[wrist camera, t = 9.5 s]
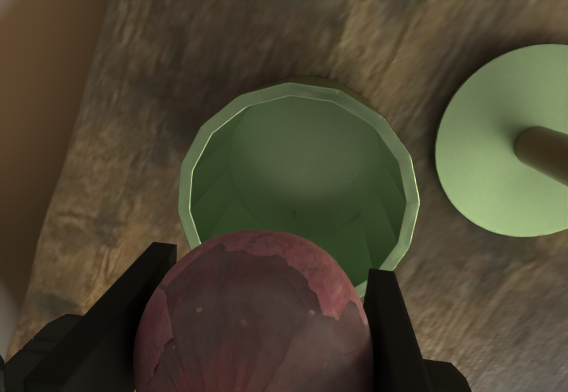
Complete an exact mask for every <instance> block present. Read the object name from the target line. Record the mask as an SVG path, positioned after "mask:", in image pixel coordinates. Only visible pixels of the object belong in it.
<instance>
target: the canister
mask: <svg viewBox="0 0 568 392" xmlns="http://www.w3.org/2000/svg"><path fill="white" fill-rule="evenodd" d="M419 205H420V200H419V195H418V189H417V184H416V179H415V174H414V169H413V164H412V159H411V156H410V154H409V152H408V151H407V150H406V148H405V147H404V145H403V144H402V142H401V141H400V140H399V138H398V137H397V135H396V134H395V133H394V131H393V130H392V128H391V127H390V125H389V124H388V123H387V121H386V120H385V118H384V117H383V116H382V115H381V114H380V113H379V112H378V111H377V110H376V109H375V108H374V107H373V106H372V105H371V104H370V103H369V102H368V101H367V100H366V99H365V98H364V97H362V96H360V95H359V94H357V93H355V92H354V91H352V90H351V89H349V88H347V87H345V86H344V85H342V84H341V83H339V82H337V81H336V80H331V79H324V78H318V77H310V76H302V75H300V76H299V75H298V76H294V77H291V78H287V79H283V80H279V81H276V82H272V83H268V84H265V85H263V86H260V87H258V88H256V89H253V90H251V91H248V92H246V93H243V94H241V95H239V96H238V97H236V98H235V99H234V100H233V101H231V102H230V103H229V104H228V105H226V106H225V107H224V108H223V109H221V110H220V111H219V112H218V113H216V114H215V115H214V116H213V117H211V118H210V119H209V120H208V121H206V122H205V123H204V124H203V125H202V126H201V127H200V129H199V131H198V133H197V135H196V137H195V139H194V141H193V143H192V145H191V147H190V149H189V151H188V152H187V154H186V156H185V158H184V160H183V162H182V164H181V167H180V180H179V195H178V209H177V210H178V214H179V217H180V220H181V223H182V226H183V229H184V232H185V235H186V238H187V240H188V243H189V246H190V249H191V250H193V249H194V248H195V247H197V246H198V245H200V244H202V243H203V242H205V241H207V240H209V239H211V238H214V237H217V236H219V235H222V234H226V233H231V232H237V231H243V230H267V231H282V232H288V233H292V234H295V235H298V236H301V237H303V238H305V239H307V240H309V241H311V242H313V243H314V244H316V245H317V246H319V247H320V248H322V249H323V250H324V251H326V252H327V253H328V254H329V255H330V256H331V257H332V258H333V259H334V260H335V261H336V262H337V263H338V265H339V266H340V267H341V268H342V270H343V271H344V272H345V274H346V275H347V276H348V278H349V280H350V281H351V283H352V285H353V287H354V289H355V291H356V293H357V294H358V296H359V298H360V297H362V296H363V295H365V292H366V285H367V279H368V273H369V268H372V269H380V270H388V271H393V269H394V268H395V267H396V265H397V264H398V262H399V261H400V260H401V258H402V257H403V256H404V254H405V253H406V252H407V250H408V249H409V247H410V244H411V240H412V235H413V231H414V227H415V222H416V218H417V214H418V209H419Z"/></svg>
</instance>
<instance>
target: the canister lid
mask: <svg viewBox="0 0 568 392" xmlns="http://www.w3.org/2000/svg"><path fill="white" fill-rule="evenodd" d="M434 162H435V169H436V173H437V177H438V180H439V182H440V185H441V187H442V189H443V191H444V193H445V194H446V196H447V198H448V199H449V201H450V202H451V203H452V204H453V206H454V207H455V208H456V209H457V210H458V211H459V212H460V213H461V214H462V215H463V216H464V217H466V218H467V219H468V220H470V221H471V222H473V223H474V224H476V225H478V226H480V227H482V228H484V229H486V230H489V231H492V232H494V233H498V234H502V235H507V236H516V237H534V236H541V235H547V234H551V233H555V232H559V231H562V230H564V229H567V228H568V45H566V44H536V45H530V46H525V47H520V48H517V49H514V50H511V51H508V52H505V53H503V54H501V55H499V56H497V57H495V58H493V59H491V60H490V61H488V62H486V63H485V64H483V65H482V66H480V67H479V68H478V69H477V70H475V71H474V72H473V73H472V74H470V75H469V76H468V77H467V78H466V79H465V80H464V81H463V82H462V83H461V84H460V86H459V87H458V88H457V90H456V91H455V92H454V93H453V95H452V96H451V98H450V100H449V101H448V103H447V105H446V106H445V108H444V111H443V113H442V115H441V117H440V120H439V123H438V126H437V130H436V135H435V141H434Z"/></svg>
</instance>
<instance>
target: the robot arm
mask: <svg viewBox="0 0 568 392" xmlns="http://www.w3.org/2000/svg"><path fill="white" fill-rule="evenodd" d="M176 257H177V245H175V244H166V243H158V242H153V243H152V244H151V245H150V246H149V247H148V248H147V249H146V250H145V251H144V252H143V253H142V254H141V256H140V257H139V258H138V259H137V260H136V261H135V262H134V263H133V264H132V265H131V266H130V267H129V268H128V269H127V270H126V271H125V272H124V274H123V275H122V276H121V277H120V278H119V279H118V280H117V281H116V282H115V283H114V284H113V285H112V286H111V287H110V288H109V289H108V291H107V292H106V293H105V294H104V295H103V296H102V297H101V298H100V299H99V300H98V301H97V302H96V303H95V304H94V305H93V306H92V307H91V309H90V310H89V311H88V312H87V313H86V314H85V315H84V316H81V315H73V314H65V315H63V316H61V317H59V318H58V319H56V320H54V321H52V322H50V323H48V324H47V325H46V326H45V327H43V328H42V329H41V330H40V331H39V332H38V333H37V334H36V335H35V336H34V339H31V340H30V341H29V342H28V343H27V344H26V345H25V346H23V349H22V350H19V351H18V352H17V353H16V354H15V355H14V356H13V357H12V358H11V359H10V360H9V361H8V362H7V363H6V364H5V363H4V360H3V358H2V357H1V355H0V392H134V390H135V383H134V370H133V348H134V341H135V336H136V332H137V328H138V325H139V322H140V319H141V317H142V314H143V312H144V310H145V307H146V305H147V303H148V301H149V300H150V298H151V296H152V294H153V293H154V291H155V289H156V288H157V287H158V285H159V284H160V282H161V281H162V279H163V278H164V276H165V275H166V273H167V272H168V271H169V270H170V269H171V268H172V267H173V266H174V265H175V264H176ZM363 309H364V312H365V314H366V317H367V320H368V324H369V328H370V332H371V337H372V344H373V354H374V379H375V382H374V391H373V392H472V391H471V389H470V387H469V384H468V382H467V380H466V378H465V377H464V376H463V375H462V374H461V373H460V372H459V371H458V370H457V368H456V367H455V366H454V365H453V364H452V363H449V362H441V361H434V360H426V359H423V358H422V355H421V352H420V349H419V346H418V343H417V340H416V337H415V334H414V331H413V328H412V324H411V321H410V318H409V315H408V312H407V309H406V306H405V303H404V300H403V297H402V294H401V291H400V288H399V285H398V282H397V279H396V276H395V273H394V271H388V270H380V269H372V268H369V273H368V279H367V285H366V292H365V298H364V304H363Z"/></svg>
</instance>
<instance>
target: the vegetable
mask: <svg viewBox="0 0 568 392" xmlns="http://www.w3.org/2000/svg"><path fill="white" fill-rule="evenodd" d="M133 370H134V383H135V389H136V392H373V391H374V382H375V379H374V354H373V344H372V337H371V332H370V328H369V324H368V320H367V317H366V314H365V312H364V309H363V306H362V303H361V301H360V298H359V296H358V294H357V293H356V291H355V289H354V287H353V285H352V283H351V281H350V280H349V278H348V276H347V275H346V274H345V272H344V271H343V270H342V268H341V267H340V266H339V265H338V263H337V262H336V261H335V260H334V259H333V258H332V257H331V256H330V255H329V254H328V253H327V252H326V251H324V250H323V249H322V248H320V247H319V246H317V245H316V244H314V243H313V242H311V241H309V240H307V239H305V238H303V237H301V236H298V235H295V234H292V233H288V232H282V231H267V230H243V231H237V232H231V233H226V234H222V235H219V236H217V237H214V238H211V239H209V240H207V241H205V242H203V243H202V244H200V245H198V246H197V247H195V248H194V249H193V250H191V251H190V252H189V253H188V254H186V255H185V256H184V257H183V258H181V259H180V260H179V261H178V262H177V263H176V264H175V265H174V266H173V267H172V268H171V269H170V270H169V271H168V272H167V273H166V275H165V276H164V278H163V279H162V281H161V282H160V284H159V285H158V287H157V288H156V289H155V291H154V293H153V294H152V296H151V298H150V300H149V301H148V303H147V305H146V307H145V310H144V312H143V314H142V317H141V319H140V322H139V325H138V328H137V332H136V336H135V341H134V348H133Z"/></svg>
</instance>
